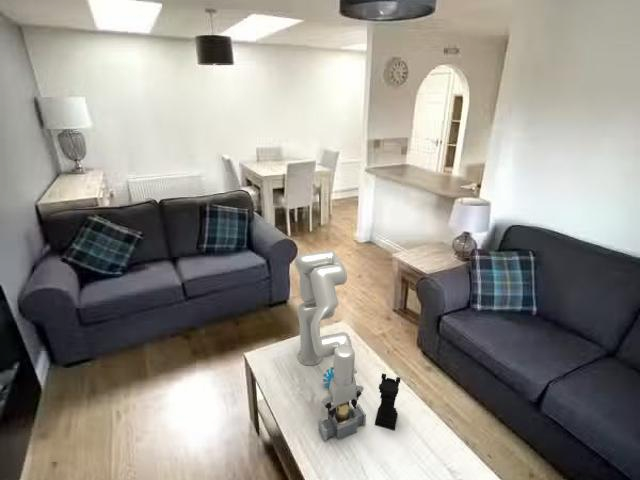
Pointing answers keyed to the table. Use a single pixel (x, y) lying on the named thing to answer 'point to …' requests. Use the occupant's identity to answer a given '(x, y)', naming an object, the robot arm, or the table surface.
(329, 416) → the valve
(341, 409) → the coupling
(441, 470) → the table surface
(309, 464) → the table surface
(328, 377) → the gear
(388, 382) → the chess piece
